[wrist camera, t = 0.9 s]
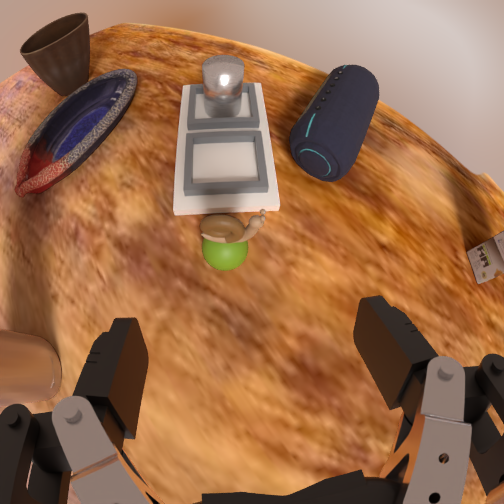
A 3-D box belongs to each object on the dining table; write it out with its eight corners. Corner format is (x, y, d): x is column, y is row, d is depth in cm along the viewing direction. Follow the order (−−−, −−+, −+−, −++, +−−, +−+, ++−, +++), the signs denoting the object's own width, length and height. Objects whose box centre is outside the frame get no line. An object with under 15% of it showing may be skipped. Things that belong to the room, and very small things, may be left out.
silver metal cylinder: (204, 120, 43) (201, 77, 34) (204, 97, 45) (203, 55, 36) (242, 119, 43) (245, 75, 35) (240, 96, 45) (242, 54, 37)
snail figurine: (253, 277, 37) (265, 242, 25) (202, 274, 36) (190, 237, 25) (255, 236, 38) (266, 188, 27) (205, 233, 38) (197, 183, 27)
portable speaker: (326, 87, 51) (339, 49, 41) (371, 109, 50) (390, 73, 40) (274, 169, 42) (285, 123, 33) (335, 200, 42) (360, 160, 32)
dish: (162, 92, 47) (159, 72, 42) (48, 222, 37) (32, 207, 32) (109, 77, 49) (104, 60, 44) (7, 187, 38) (-6, 173, 34)
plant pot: (117, 65, 50) (102, 8, 35) (77, 110, 45) (50, 49, 30) (71, 66, 50) (54, 17, 35) (34, 107, 45) (7, 57, 30)
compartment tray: (175, 215, 39) (171, 204, 36) (184, 91, 47) (182, 79, 44) (278, 210, 40) (282, 199, 37) (259, 89, 48) (261, 76, 46)
